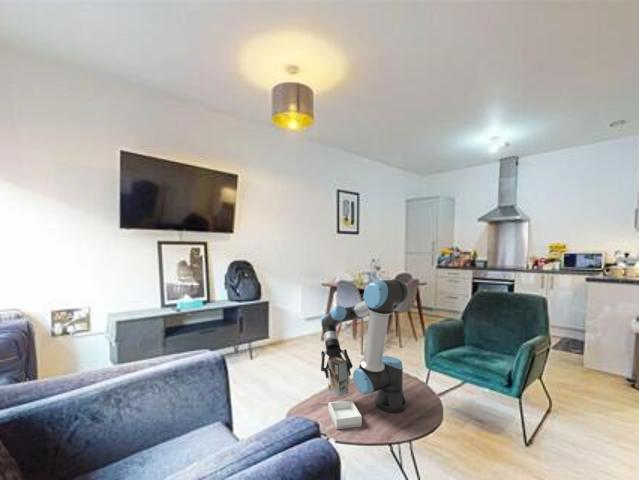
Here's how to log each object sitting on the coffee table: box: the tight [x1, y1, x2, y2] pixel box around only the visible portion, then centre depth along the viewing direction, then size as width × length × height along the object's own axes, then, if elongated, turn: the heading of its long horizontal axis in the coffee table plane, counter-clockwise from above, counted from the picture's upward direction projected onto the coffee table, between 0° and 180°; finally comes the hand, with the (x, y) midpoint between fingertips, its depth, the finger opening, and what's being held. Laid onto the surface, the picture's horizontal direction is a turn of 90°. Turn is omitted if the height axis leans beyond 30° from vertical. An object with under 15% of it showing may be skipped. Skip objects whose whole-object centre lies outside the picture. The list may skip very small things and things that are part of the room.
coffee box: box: [327, 357, 349, 398], centre depth 161 cm, size 9×6×16 cm
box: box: [328, 399, 363, 430], centre depth 147 cm, size 12×15×4 cm
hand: (339, 383), depth 158 cm, fingers closed on coffee box, 9 cm apart
